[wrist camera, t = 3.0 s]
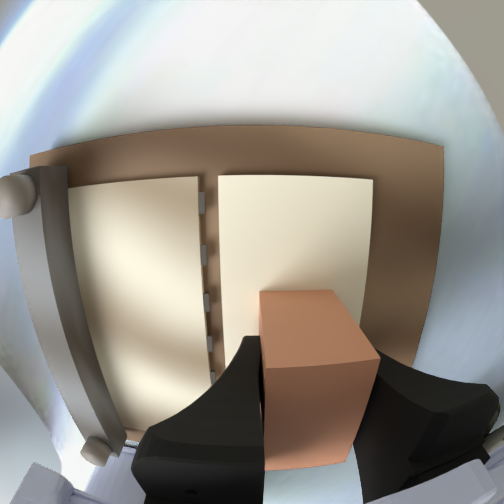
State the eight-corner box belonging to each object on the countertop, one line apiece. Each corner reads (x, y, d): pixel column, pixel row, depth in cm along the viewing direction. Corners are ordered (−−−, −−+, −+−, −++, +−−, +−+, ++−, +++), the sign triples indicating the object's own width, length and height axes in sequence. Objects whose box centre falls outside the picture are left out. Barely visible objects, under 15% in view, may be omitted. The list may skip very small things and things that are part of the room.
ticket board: (377, 420, 16) (401, 471, 11) (103, 418, 16) (78, 466, 11) (426, 148, 12) (495, 142, 7) (46, 156, 11) (-21, 155, 7)
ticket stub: (332, 429, 14) (353, 499, 9) (231, 435, 14) (227, 510, 9) (369, 179, 11) (453, 184, 5) (219, 176, 10) (191, 170, 5)
